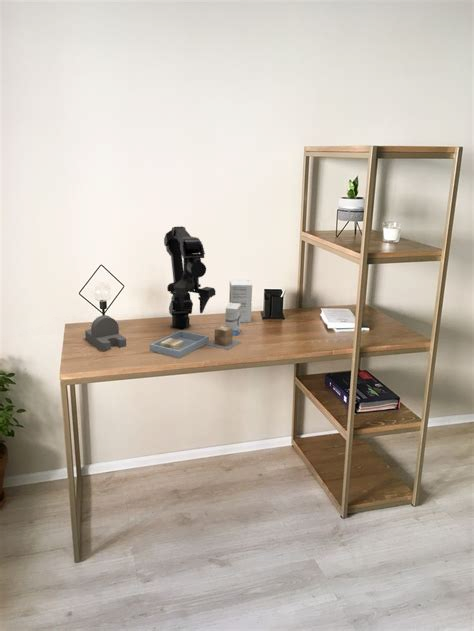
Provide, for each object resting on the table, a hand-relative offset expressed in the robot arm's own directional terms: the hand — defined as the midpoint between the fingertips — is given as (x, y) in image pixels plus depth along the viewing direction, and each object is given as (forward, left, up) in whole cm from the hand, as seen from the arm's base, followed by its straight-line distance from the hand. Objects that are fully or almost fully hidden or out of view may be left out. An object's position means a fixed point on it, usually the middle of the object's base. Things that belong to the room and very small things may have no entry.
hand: (191, 311), depth 215 cm
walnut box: (+13, +3, -11) cm, 17 cm away
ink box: (+9, +17, -12) cm, 23 cm away
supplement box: (+2, +35, -12) cm, 37 cm away
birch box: (+1, -14, -12) cm, 18 cm away
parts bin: (+1, -9, -12) cm, 15 cm away
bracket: (-26, -20, -12) cm, 35 cm away
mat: (+13, +3, -12) cm, 18 cm away
